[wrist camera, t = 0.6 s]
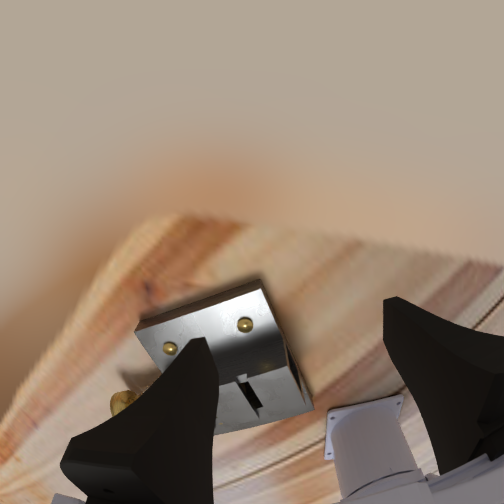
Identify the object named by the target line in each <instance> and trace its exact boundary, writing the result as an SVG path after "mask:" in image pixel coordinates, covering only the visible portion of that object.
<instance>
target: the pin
mask: <svg viewBox="0 0 504 504" xmlns="http://www.w3.org/2000/svg"><path fill="white" fill-rule="evenodd" d="M240 385H241V386H242V388H243V390H244V391H245V393H246V388H245V384H244V382H243V383H240ZM141 395H142V394H141ZM141 395H136V394H135V393H134V392H133V391H130V390H127V391H122V392H117V393H115V394H114V395H113V396H112V398H111V401H110V409H111V414H112V416H113V417H114V416H115V415H117V414H118V413H119V412H121V411H122V410H123V409H125V408H126V407H127V406H129V405H130V404H132V403H133V402H134V401H135V400H136V399H138V398H139V397H140V396H141Z"/></svg>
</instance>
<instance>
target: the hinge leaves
mask: <svg viewBox="0 0 504 504" xmlns="http://www.w3.org/2000/svg"><path fill="white" fill-rule="evenodd" d="M134 333H135V335H136V336H137V338H138V339H139V341H140V342H141V344H142V345H143V347H144V348H145V350H146V351H147V352H148V354H149V355H150V357H151V358H152V360H153V361H154V362H155V364H156V365H157V367H158V368H159V369H160V371H161V372H162V374H163V372H164V371H165V370H166V369H167V368H168V367H169V365H170V364H171V363H172V362H173V361H174V359H175V358H176V357H177V356H178V354H179V353H180V352H181V350H182V349H183V348H184V347H185V345H186V344H187V343H188V342H189V340H190V339H193V338H200V337H206V340H207V343H208V346H209V349H210V351H211V354H212V357H213V359H214V362H215V365H216V367H217V370H218V373H219V400H218V407H217V415H216V422H215V429H214V435H219V434H224V433H229V432H233V431H238V430H242V429H247V428H251V427H255V426H259V425H263V424H267V423H271V422H275V421H279V420H282V419H286V418H289V417H293V416H296V415H300V414H303V413H306V412H309V411H313V410H315V409H314V405H313V400H312V397H311V395H310V392H309V390H308V388H307V386H306V383H305V381H304V379H303V376H302V374H301V372H300V370H299V367H298V365H297V363H296V360H295V358H294V356H293V354H292V351H291V349H290V347H289V344H288V342H287V340H286V338H285V335H284V333H283V331H282V328H281V326H280V324H279V322H278V319H277V317H276V315H275V312H274V310H273V308H272V306H271V303H270V301H269V299H268V296H267V294H266V292H265V289H264V287H263V285H262V283H261V280H260V279H258V280H255V281H253V282H250V283H247V284H245V285H242V286H239V287H236V288H234V289H231V290H228V291H225V292H222V293H220V294H217V295H214V296H211V297H209V298H206V299H203V300H200V301H197V302H194V303H192V304H189V305H186V306H183V307H180V308H177V309H174V310H172V311H169V312H166V313H163V314H160V315H157V316H154V317H151V318H148V319H145V320H142V321H140V322H139V323H138V325H137V327H136V329H135V331H134ZM243 382H244V384H245V388H246V393H245V391H244V390H243V388H242V386H241V385H240V383H243Z"/></svg>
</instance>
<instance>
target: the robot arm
mask: <svg viewBox="0 0 504 504" xmlns="http://www.w3.org/2000/svg"><path fill="white" fill-rule="evenodd" d="M383 341H384V344H385V346H386V349H387V351H388V353H389V356H390V358H391V360H392V362H393V363H394V365H395V367H396V369H397V370H398V372H399V374H400V375H401V377H402V379H403V380H404V382H405V384H406V386H407V387H408V389H409V391H410V392H411V394H412V396H413V398H414V400H415V402H416V404H417V406H418V408H419V411H420V413H421V416H422V418H423V421H424V423H425V426H426V429H427V432H428V435H429V437H430V440H431V444H432V447H433V450H434V454H435V457H436V461H437V465H438V469H439V473H440V476H438V475H434V474H432V473H429V474H427V475H425V477H424V475H423V472H422V470H421V468H419V469H418V467H417V464H416V462H415V459H414V457H413V455H412V452H411V450H410V448H409V445H408V443H407V441H406V438H405V436H404V434H403V431H402V429H401V427H400V425H399V422H398V417H399V414H400V410H401V407H402V403H403V400H404V397H403V395H401V394H400V395H396V396H392V397H388V398H384V399H380V400H376V401H371V402H367V403H362V404H358V405H353V406H348V407H343V408H338V409H332V410H330V411H328V413H327V426H326V439H325V451H324V459H325V460H330V459H333V460H334V464H335V468H336V473H337V477H338V482H339V487H340V491H341V495H342V498H343V499H342V500H340V502H338V503H334V504H504V336H498V335H492V334H488V333H483V332H479V331H475V330H472V329H469V328H466V327H463V326H460V325H457V324H454V323H452V322H450V321H447V320H445V319H442V318H440V317H438V316H436V315H434V314H432V313H430V312H428V311H426V310H424V309H422V308H420V307H418V306H416V305H414V304H412V303H410V302H408V301H406V300H404V299H402V298H400V297H397V296H396V297H392V298H388V299H385V300H383ZM218 400H219V373H218V370H217V367H216V365H215V362H214V359H213V357H212V354H211V351H210V349H209V346H208V343H207V340H206V337H200V338H193V339H190V340H189V342H188V343H187V344H186V345H185V347H184V348H183V349H182V350H181V352H180V353H179V354H178V356H177V357H176V358H175V359H174V361H173V362H172V363H171V364H170V365H169V367H168V368H167V369H166V370H165V371H164V372H163V374H162V375H161V376H160V377H159V378H158V379H157V380H156V381H155V382H154V383H153V385H152V386H151V387H150V388H149V389H148V390H146V391H145V392H144V393H143V394H142V395H141V396H140V397H139V398H138V399H136V400H135V401H134V402H133V403H132V404H130V405H129V406H127V407H126V408H125V409H123V410H122V411H121V412H119V413H118V414H117V415H115V416H114V417H112V418H110V419H109V420H107V421H105V422H104V423H102V424H100V425H98V426H97V427H95V428H93V429H91V430H88V431H86V432H84V433H82V434H80V435H77V436H75V437H73V438H71V440H70V442H69V444H68V446H67V449H66V451H65V453H64V455H63V458H62V460H61V462H60V468H61V470H62V472H63V473H64V475H65V476H66V477H67V478H68V479H69V480H70V481H71V482H72V483H73V484H74V485H76V486H77V487H78V488H79V489H80V490H81V491H82V492H84V493H85V494H86V495H87V496H88V497H87V500H86V503H85V502H84V501H82V500H80V499H77V498H73V497H69V496H65V495H62V494H58V493H56V494H55V495H54V497H53V500H52V503H51V504H214V500H213V478H212V446H213V436H214V429H215V422H216V415H217V407H218Z"/></svg>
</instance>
